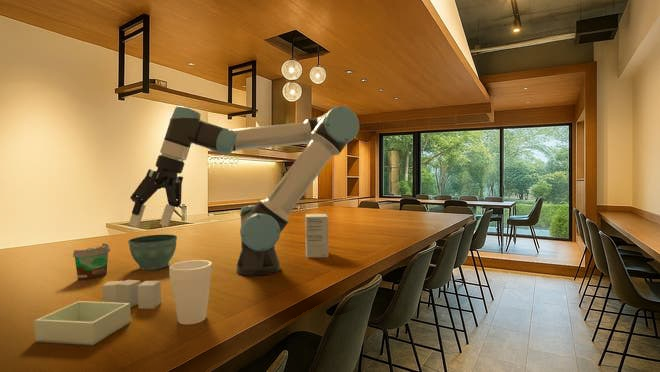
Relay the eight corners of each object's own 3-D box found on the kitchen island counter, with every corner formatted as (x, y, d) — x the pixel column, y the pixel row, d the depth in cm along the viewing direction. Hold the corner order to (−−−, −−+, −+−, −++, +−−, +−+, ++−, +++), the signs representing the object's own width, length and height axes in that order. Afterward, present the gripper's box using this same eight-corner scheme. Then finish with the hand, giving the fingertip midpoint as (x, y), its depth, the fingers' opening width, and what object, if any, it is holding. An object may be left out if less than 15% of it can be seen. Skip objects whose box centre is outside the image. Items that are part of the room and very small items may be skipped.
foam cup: (178, 311, 90) (177, 260, 89) (216, 310, 90) (215, 259, 90) (164, 328, 80) (163, 270, 80) (206, 326, 81) (205, 269, 80)
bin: (130, 322, 84) (130, 303, 83) (93, 345, 72) (92, 323, 72) (79, 319, 85) (78, 301, 85) (35, 341, 74) (34, 320, 74)
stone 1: (124, 298, 100) (123, 280, 100) (119, 302, 96) (118, 284, 96) (108, 299, 99) (107, 281, 99) (102, 304, 95) (102, 285, 95)
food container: (89, 282, 115) (88, 251, 114) (73, 281, 116) (72, 250, 115) (119, 271, 127) (118, 243, 126) (104, 270, 128) (103, 243, 127)
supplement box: (305, 252, 155) (305, 213, 154) (326, 252, 156) (326, 213, 155) (306, 258, 145) (305, 216, 144) (328, 257, 146) (328, 216, 145)
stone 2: (141, 302, 96) (140, 280, 96) (129, 308, 92) (128, 285, 92) (128, 301, 97) (127, 279, 97) (116, 306, 93) (115, 284, 93)
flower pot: (128, 275, 122) (127, 244, 121) (129, 264, 136) (129, 236, 136) (179, 269, 129) (178, 239, 129) (175, 259, 144) (175, 233, 143)
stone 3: (161, 302, 96) (160, 280, 96) (154, 308, 92) (153, 285, 92) (146, 302, 96) (145, 280, 96) (138, 308, 92) (137, 285, 92)
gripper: (185, 161, 120) (164, 221, 119) (132, 145, 96) (106, 221, 95) (204, 167, 119) (184, 228, 118) (156, 153, 94) (130, 230, 93)
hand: (149, 225), depth 106 cm, fingers open, 13 cm apart
